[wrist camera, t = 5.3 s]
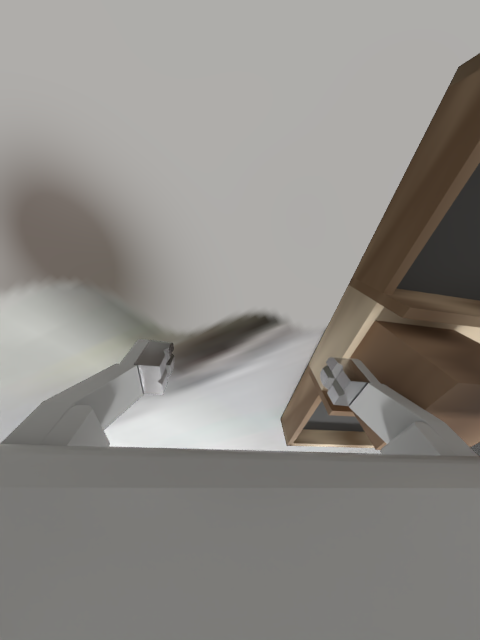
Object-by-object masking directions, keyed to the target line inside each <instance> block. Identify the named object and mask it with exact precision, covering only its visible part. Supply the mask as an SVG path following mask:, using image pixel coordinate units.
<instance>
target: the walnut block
mask: <svg viewBox="0 0 480 640" xmlns="http://www.w3.org/2000/svg"><path fill="white" fill-rule="evenodd" d="M350 358H351V359H358V360H360V361H361V362H362V363H363V364H364V365H365V366H366V367H367V368H368V370H369V371H370V372H371V373H372V374H373V375H374V376H375V378H376V379H377V380H378V381H379V382H380V383H381V384H384V385H386V386H388V387H389V388H391V389H392V390H394V391H396V392H397V393H399V394H400V395H402V396H403V397H405V398H407V399H408V400H410V401H411V402H413V403H415V404H416V405H418V406H419V407H421V408H423V409H424V410H426V411H427V412H429V413H430V414H432V415H434V416H435V417H437V418H438V419H440V420H442V421H443V422H445V423H446V424H447V425H448V426H449V427H450V428H451V429H452V430H453V431H454V432H455V433H456V434H457V435H458V436H459V437H460V438H461V439H462V440H463V441H464V442H465V443H466V444H467V445H468V446H469V447H472V446H473V445H475V444H477V443H479V442H480V343H478V342H476V341H474V340H472V339H470V338H469V337H467V336H465V335H463V334H461V333H459V332H457V331H455V330H451V329H443V328H435V327H427V326H418V325H410V324H402V323H394V322H385V321H377V320H375V321H374V322H373V324H372V325H371V327H370V329H369V330H368V332H367V333H366V335H365V336H364V338H363V339H362V341H361V342H360V344H359V345H358V347H357V348H356V350H355V351H354V353H353V354H352V356H351V357H350ZM352 412H353V411H352ZM353 413H354V415H355V417H356V418H357V420H358V422H359V423H360V425H361V426H362V428H363V430H364V431H365V433H366V435H367V436H368V438H369V440H370V441H371V443H372V445H373V446H374V448H375V450H381V448H382V447H384V446H385V445H386V443H385V442H384V441H383V440H382V439H381V438H380V437H379V436H378V435H377V434H376V433H375V432H374V431H373V430H372V429H371V428H370V427H369V426H368V425H367V424H366V423H365V422H364V421H363V420H362V419H361V418H360V417H359V416H358V415H357V414H356V413H355V412H353Z"/></svg>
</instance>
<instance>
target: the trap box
mask: <svg viewBox="0 0 480 640" xmlns="http://www.w3.org/2000/svg"><path fill="white" fill-rule="evenodd" d="M375 320H377V321H385V322H394V323H402V324H410V325H418V326H427V327H435V328H443V329H451V330H455V331H457V332H459V333H461V334H463V335H465V336H467V337H469V338H470V339H472V340H474V341H476V342H478V343H480V54H478V55H477V56H475V57H473V58H472V59H470V60H469V61H467V62H465V63H464V64H462V65H461V66H459V67H458V69H457V71H456V73H455V75H454V77H453V79H452V81H451V83H450V85H449V87H448V89H447V91H446V93H445V95H444V97H443V99H442V101H441V103H440V105H439V107H438V109H437V111H436V113H435V115H434V117H433V119H432V121H431V123H430V125H429V127H428V129H427V131H426V132H425V135H424V137H423V138H422V140H421V143H420V144H419V147H418V148H417V150H416V152H415V154H414V156H413V158H412V160H411V162H410V164H409V166H408V168H407V170H406V172H405V174H404V176H403V178H402V180H401V182H400V184H399V186H398V188H397V190H396V192H395V194H394V196H393V198H392V200H391V202H390V204H389V206H388V208H387V210H386V212H385V214H384V216H383V218H382V220H381V222H380V224H379V226H378V227H377V230H376V231H375V234H374V235H373V237H372V239H371V242H370V243H369V245H368V247H367V249H366V252H365V253H364V256H363V257H362V259H361V261H360V263H359V265H358V267H357V269H356V271H355V273H354V275H353V277H352V279H351V281H350V283H349V285H348V287H347V289H346V291H345V293H344V295H343V297H342V299H341V301H340V303H339V305H338V307H337V309H336V311H335V313H334V315H333V317H332V319H331V321H330V323H329V324H328V326H327V328H326V330H325V332H324V334H323V336H322V338H321V340H320V342H319V344H318V346H317V348H316V350H315V352H314V354H313V356H312V358H311V360H310V362H309V364H308V366H307V368H306V370H305V372H304V374H303V376H302V378H301V380H300V382H299V384H298V386H297V388H296V390H295V392H294V394H293V396H292V398H291V400H290V402H289V404H288V406H287V408H286V410H285V412H284V414H283V416H282V418H281V423H282V427H283V432H284V436H285V440H286V444H287V446H320V447H357V448H374V446H373V445H372V443H371V441H370V440H369V438H368V436H367V435H366V433H365V431H364V430H363V428H362V426H361V425H360V423H359V422H358V420H357V418H356V417H355V415H354V413H353V412H352V410H351V409H350V408H349V406H341V405H333V403H332V401H331V399H330V398H329V396H328V394H327V391H328V389H327V388H325V387H324V386H323V384H322V382H321V379H320V372H321V370H322V368H324V367H325V366H327V364H326V361H327V360H328V358H330V357H336V358H347V359H348V358H350V357H351V356H352V354H353V353H354V351H355V350H356V348H357V347H358V345H359V344H360V342H361V341H362V339H363V338H364V336H365V335H366V333H367V332H368V330H369V329H370V327H371V325H372V324H373V322H374V321H375Z"/></svg>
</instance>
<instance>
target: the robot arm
mask: <svg viewBox="0 0 480 640" xmlns="http://www.w3.org/2000/svg"><path fill="white" fill-rule="evenodd" d="M173 350H174V346H173V343H172V342H163V341H154V340H144V339H139V340H137V341H136V343H135V344H134V345H133V347H132V348H131V349H130V351H129V352H128V353H127V355H126V356H125V357H124V359H123V360H122V361H121V362H120V364H114V365H112V366H111V367H109V368H107V369H105V370H103V371H101V372H99V373H97V374H95V375H93V376H91V377H89V378H88V379H86V380H84V381H82V382H80V383H78V384H76V385H74V386H72V387H70V388H68V389H66V390H64V391H63V392H61V393H59V394H57V395H55V396H53V397H51V398H49V399H47V400H45V401H43V402H42V403H41V404H40V405H39V406H38V407H37V408H36V409H35V410H34V411H33V412H32V413H31V414H30V415H29V416H28V417H27V418H26V419H25V420H24V421H23V422H22V423H21V424H20V425H19V426H18V427H17V428H16V429H15V430H14V431H13V432H12V433H11V434H10V435H9V436H8V437H7V438H6V439H5V440H4V441H3V442H2V443H1V444H0V640H480V456H478V455H477V454H476V453H475V452H474V451H473V450H472V449H471V448H470V447H469V446H468V445H467V444H466V443H465V442H464V441H463V440H462V439H461V438H460V437H459V436H458V435H457V434H456V433H455V432H454V431H453V430H452V429H451V428H450V427H449V426H448V425H447V424H446V423H445V422H443V421H442V420H440V419H438V418H437V417H435V416H434V415H432V414H430V413H429V412H427V411H426V410H424V409H423V408H421V407H419V406H418V405H416V404H415V403H413V402H411V401H410V400H408V399H407V398H405V397H403V396H402V395H400V394H399V393H397V392H396V391H394V390H392V389H391V388H389V387H388V386H386V385H384V384H381V383H380V382H379V381H378V380H377V379H376V378H375V376H374V375H373V374H372V373H371V372H370V371H369V370H368V368H367V367H366V366H365V365H364V364H363V363H362V362H361V361H360V360H358V359H351V358H348V359H347V358H336V357H330V358H328V360H327V361H326V364H327V366H325V367H324V368H322V370H321V372H320V379H321V382H322V384H323V386H324V387H325V388H327V389H328V391H327V394H328V396H329V398H330V399H331V401H332V403H333V405H341V406H349V408H350V409H351V410H352V411H353V412H355V413H356V414H357V415H358V416H359V417H360V418H361V419H362V420H363V421H364V422H365V423H366V424H367V425H368V426H369V427H370V428H371V429H372V430H373V431H374V432H375V433H376V434H377V435H378V436H379V437H380V438H381V439H382V440H383V441H384V442H385V443H386V445H385V446H384V447H382V448H381V451H380V452H381V453H382V454H367V453H331V452H294V451H256V450H218V449H180V448H142V447H109V445H110V443H109V440H108V438H107V436H106V434H105V432H104V430H105V429H106V428H107V427H108V426H109V425H110V424H111V423H113V422H114V421H115V420H116V419H117V418H118V417H119V416H121V415H122V414H123V413H124V412H125V411H126V410H127V409H128V408H130V407H131V406H132V405H133V404H134V403H135V402H136V401H138V400H139V399H140V398H141V397H142V396H143V394H155V395H163V394H164V392H165V389H166V386H167V384H168V377H169V376H170V375H171V373H172V371H173V367H174V355H173V354H172V352H173Z"/></svg>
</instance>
